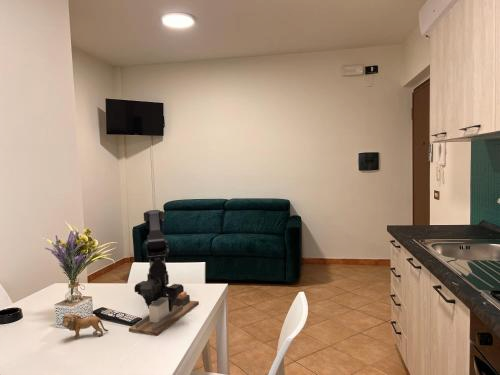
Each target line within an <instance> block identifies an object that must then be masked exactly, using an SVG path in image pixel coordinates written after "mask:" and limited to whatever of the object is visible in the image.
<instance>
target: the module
mask: <svg viewBox="0 0 500 375" xmlns="http://www.w3.org/2000/svg"><path fill="white" fill-rule="evenodd" d="M170 313H171V312H169V306H168V298H162V297H161V298H160V299H158V300H156V301H152V303H151V304H150V306H149V309H148V315H149V318H150V322H156V323H157V322H158V321H160V320H161V319H163V318H164V317H166V316H167V315H168V314H170Z"/></svg>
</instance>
